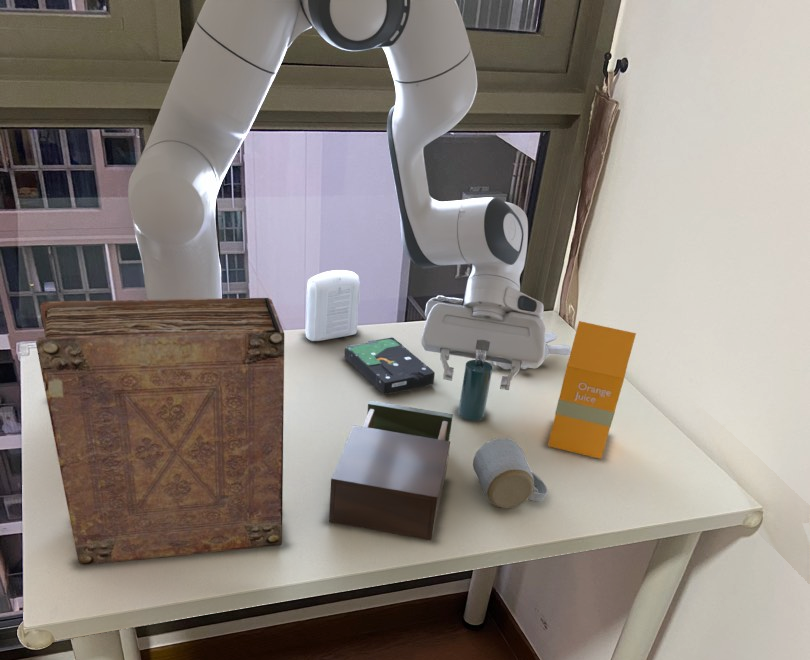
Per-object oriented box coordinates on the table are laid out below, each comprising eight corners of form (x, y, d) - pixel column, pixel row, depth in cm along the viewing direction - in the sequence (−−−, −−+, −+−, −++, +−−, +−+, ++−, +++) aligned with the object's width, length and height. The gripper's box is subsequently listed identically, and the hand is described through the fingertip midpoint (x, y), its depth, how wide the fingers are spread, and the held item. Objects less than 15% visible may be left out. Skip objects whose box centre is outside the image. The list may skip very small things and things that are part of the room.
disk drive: (434, 386, 148) (391, 349, 157) (436, 372, 146) (392, 335, 155) (384, 397, 143) (342, 358, 152) (385, 382, 141) (343, 344, 151)
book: (76, 565, 103) (32, 339, 84) (77, 520, 110) (37, 301, 91) (283, 545, 110) (284, 331, 91) (272, 503, 117) (271, 296, 98)
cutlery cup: (456, 418, 140) (468, 344, 131) (459, 405, 143) (471, 332, 135) (482, 423, 139) (496, 348, 131) (485, 410, 143) (498, 337, 135)
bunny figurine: (480, 334, 157) (551, 319, 161) (479, 358, 160) (549, 343, 164) (503, 357, 150) (577, 341, 154) (501, 382, 154) (573, 366, 158)
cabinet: (350, 466, 126) (353, 424, 121) (444, 482, 125) (450, 441, 120) (328, 522, 115) (331, 478, 110) (431, 540, 114) (437, 497, 109)
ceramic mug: (483, 513, 120) (493, 468, 115) (468, 480, 126) (477, 436, 121) (552, 511, 122) (565, 467, 117) (534, 478, 128) (545, 435, 123)
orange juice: (555, 423, 142) (581, 311, 129) (607, 436, 140) (639, 323, 128) (547, 446, 136) (574, 331, 123) (601, 459, 134) (634, 344, 122)
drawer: (372, 418, 136) (374, 387, 132) (451, 431, 135) (456, 401, 131) (349, 477, 122) (351, 444, 118) (437, 492, 121) (442, 460, 118)
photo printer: (348, 326, 163) (352, 263, 156) (360, 335, 161) (364, 272, 153) (301, 334, 158) (303, 270, 151) (312, 344, 156) (314, 279, 148)
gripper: (428, 285, 136) (412, 367, 135) (553, 305, 135) (539, 388, 133) (428, 301, 143) (413, 379, 141) (548, 320, 141) (534, 399, 140)
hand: (475, 383), depth 137 cm, fingers open, 8 cm apart
